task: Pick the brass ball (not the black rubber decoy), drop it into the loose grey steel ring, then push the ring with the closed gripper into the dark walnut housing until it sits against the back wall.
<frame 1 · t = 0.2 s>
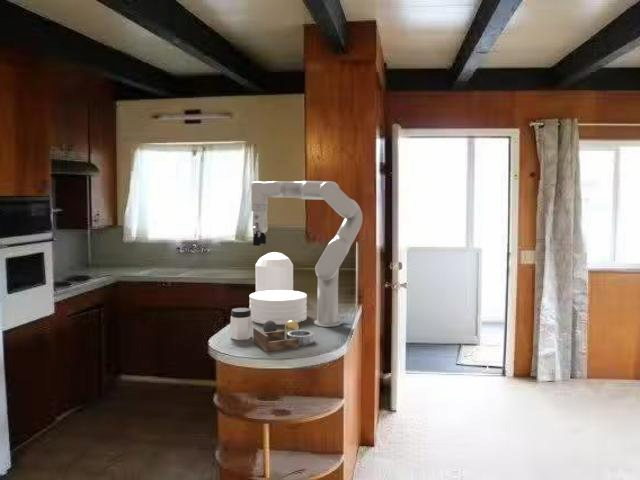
hand: (259, 244, 262), 37 cm above the worktop, tool pointing down, fingers open, 9 cm apart
container: (274, 301, 313), on the worktop
steel race: (300, 341, 230), on the worktop
walnut housing: (275, 344, 225), on the worktop
brass ball: (291, 326, 243), point 3 cm above the worktop
plate stack: (278, 318, 273), on the worktop
jar: (241, 338, 236), on the worktop
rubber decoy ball: (270, 327, 242), point 3 cm above the worktop
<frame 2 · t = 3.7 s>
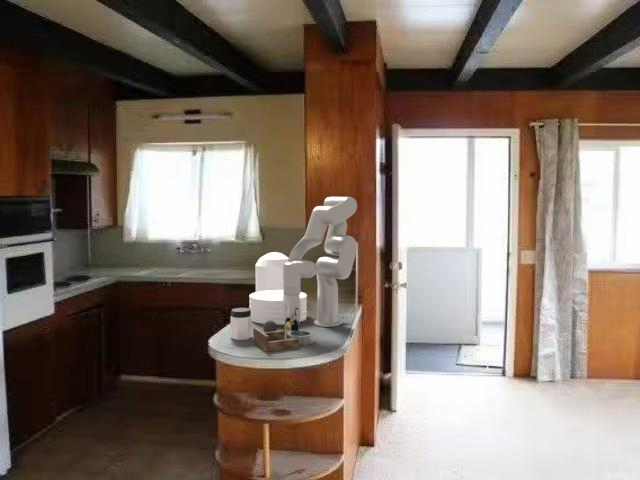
hand: (291, 331, 243), 1 cm above the worktop, tool pointing down, fingers closed on brass ball, 6 cm apart
brass ball: (291, 326, 243), point 3 cm above the worktop, touching gripper
everything else where it was.
when the fingers open (4 cm above the worktop, at t = 9.2 s): brass ball drops 3 cm, point 3 cm above the worktop.
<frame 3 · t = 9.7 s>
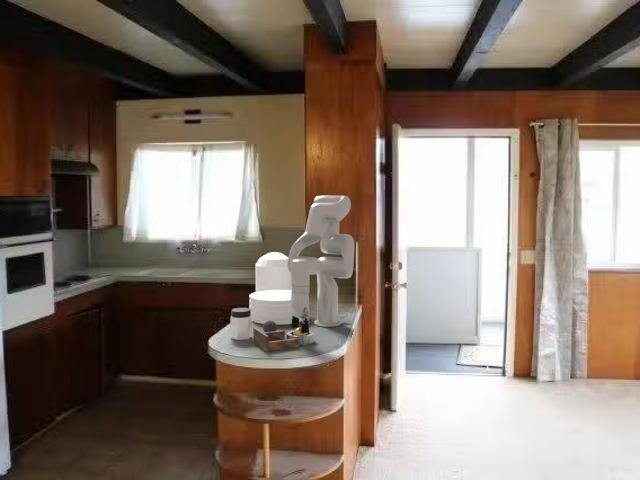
hand: (300, 330, 230), 5 cm above the worktop, tool pointing down, fingers open, 9 cm apart
brass ball: (300, 334, 230), point 3 cm above the worktop
everything else where it was.
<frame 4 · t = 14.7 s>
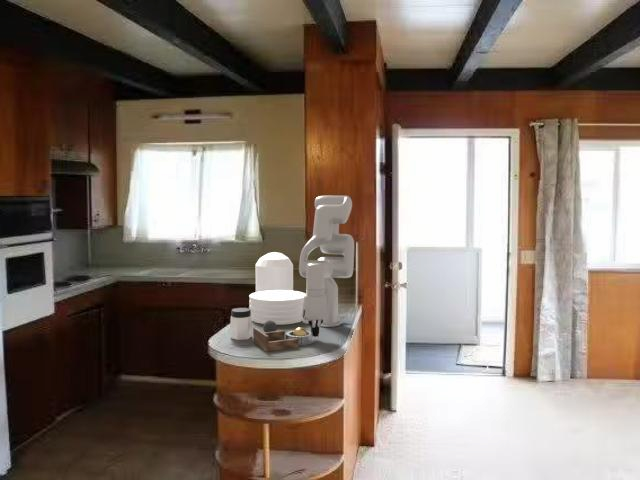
hand: (315, 335, 233), 2 cm above the worktop, tool pointing down, fingers closed
steel race: (299, 341, 230), on the worktop, touching gripper
everything else where it was.
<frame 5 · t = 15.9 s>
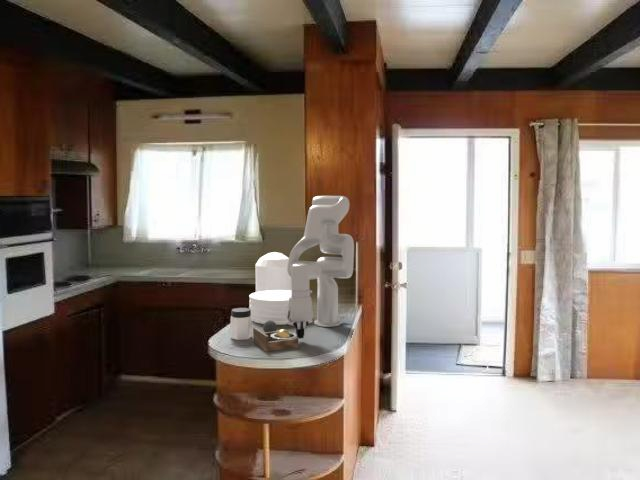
hand: (300, 337, 230), 2 cm above the worktop, tool pointing down, fingers closed
steel race: (284, 343, 227), on the worktop, touching gripper
brass ball: (283, 336, 226), point 3 cm above the worktop, tilted 146°
everything else where it was.
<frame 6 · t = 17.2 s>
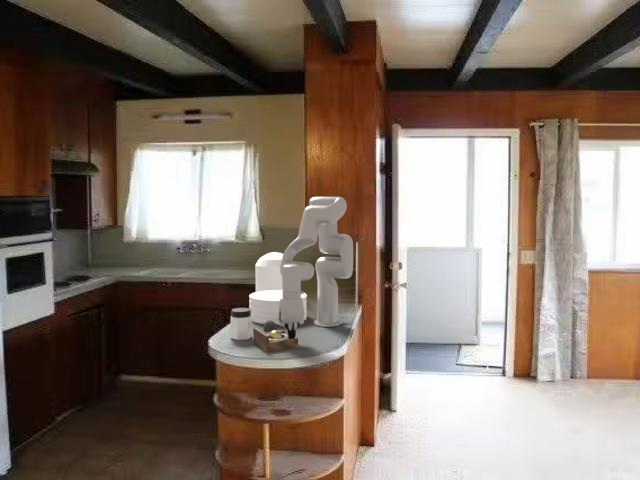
hand: (291, 338, 228), 2 cm above the worktop, tool pointing down, fingers closed
steel race: (275, 344, 225), on the worktop, touching gripper, walnut housing
brass ball: (275, 337, 225), point 3 cm above the worktop, tilted 146°
everything else where it was.
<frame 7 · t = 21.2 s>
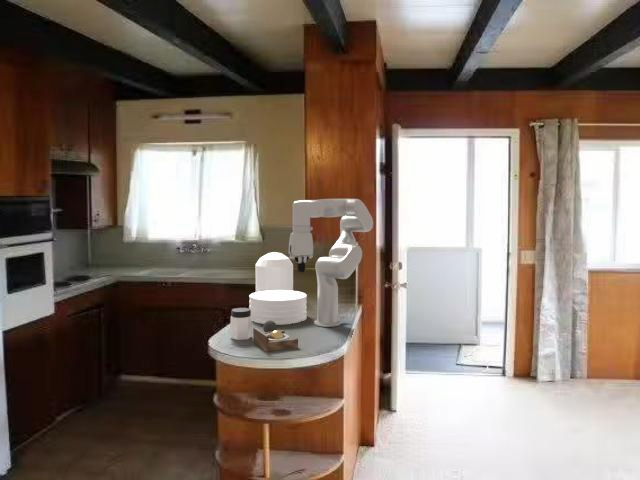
hand: (301, 271, 242), 27 cm above the worktop, tool pointing down, fingers closed
steel race: (275, 344, 225), on the worktop
brass ball: (276, 337, 224), point 3 cm above the worktop, tilted 152°
everything else where it was.
at the end: steel race 0.8 cm off-centre on the walnut housing, point 0.0 cm above the walnut housing's base; brass ball 0.5 cm from the steel race (horizontally); brass ball point 3.0 cm above the worktop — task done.
